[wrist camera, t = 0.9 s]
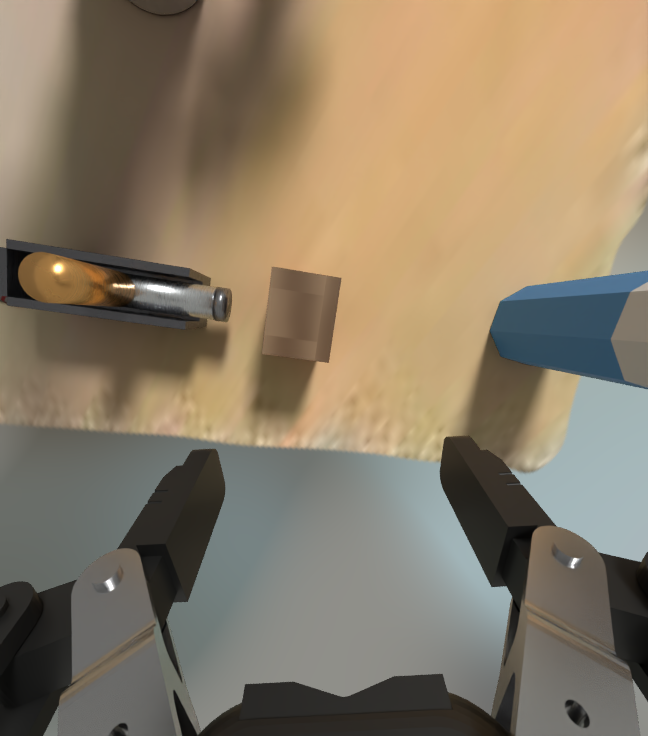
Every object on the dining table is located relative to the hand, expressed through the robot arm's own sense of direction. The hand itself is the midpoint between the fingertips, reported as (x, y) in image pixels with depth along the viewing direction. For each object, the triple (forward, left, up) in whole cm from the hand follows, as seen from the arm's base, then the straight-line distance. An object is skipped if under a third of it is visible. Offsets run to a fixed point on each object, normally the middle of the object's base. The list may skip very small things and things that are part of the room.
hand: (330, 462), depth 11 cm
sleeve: (-17, -10, -24) cm, 31 cm away
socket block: (-4, +3, -24) cm, 25 cm away
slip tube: (-15, -8, -21) cm, 27 cm away
